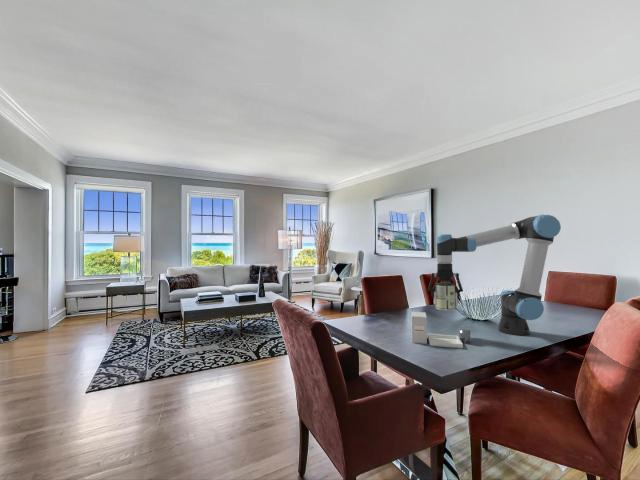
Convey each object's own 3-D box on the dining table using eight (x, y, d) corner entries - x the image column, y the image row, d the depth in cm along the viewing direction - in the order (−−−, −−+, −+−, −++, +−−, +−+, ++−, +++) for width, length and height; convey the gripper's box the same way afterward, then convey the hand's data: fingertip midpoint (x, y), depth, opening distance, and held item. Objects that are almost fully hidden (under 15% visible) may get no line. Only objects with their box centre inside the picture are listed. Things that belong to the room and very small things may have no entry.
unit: (425, 337, 165) (425, 312, 165) (426, 344, 154) (426, 317, 154) (411, 336, 167) (411, 311, 167) (411, 342, 155) (411, 316, 156)
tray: (457, 339, 161) (457, 335, 161) (462, 348, 147) (462, 344, 147) (427, 337, 165) (427, 333, 165) (429, 346, 150) (429, 341, 150)
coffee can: (439, 306, 176) (439, 280, 176) (458, 308, 169) (458, 282, 169) (432, 309, 169) (431, 282, 169) (451, 311, 162) (451, 284, 162)
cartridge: (469, 341, 158) (469, 329, 158) (471, 344, 153) (471, 331, 153) (458, 340, 159) (458, 328, 160) (460, 343, 155) (460, 331, 155)
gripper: (466, 262, 170) (466, 303, 170) (422, 262, 176) (422, 302, 175) (468, 263, 163) (469, 306, 162) (423, 263, 168) (423, 304, 168)
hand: (445, 304), depth 169 cm, fingers closed on coffee can, 10 cm apart
